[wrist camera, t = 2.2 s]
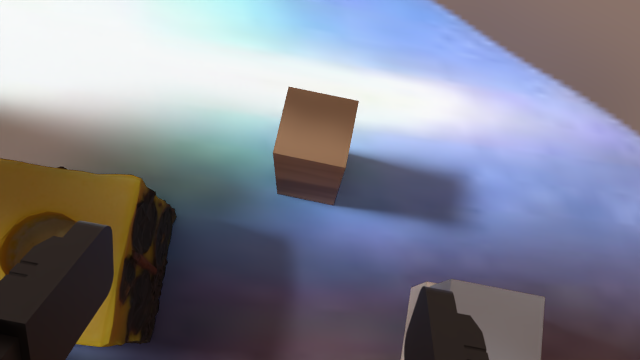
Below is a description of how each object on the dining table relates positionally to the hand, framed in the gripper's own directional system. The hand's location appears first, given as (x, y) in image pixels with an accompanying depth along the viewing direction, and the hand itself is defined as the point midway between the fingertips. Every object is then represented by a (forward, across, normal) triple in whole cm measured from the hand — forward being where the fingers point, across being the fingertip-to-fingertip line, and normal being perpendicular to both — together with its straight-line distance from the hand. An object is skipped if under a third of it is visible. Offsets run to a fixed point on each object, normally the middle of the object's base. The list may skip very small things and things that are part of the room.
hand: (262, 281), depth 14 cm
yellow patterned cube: (+20, +14, +18) cm, 30 cm away
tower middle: (+16, -12, +15) cm, 25 cm away
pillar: (+27, 0, +11) cm, 29 cm away
